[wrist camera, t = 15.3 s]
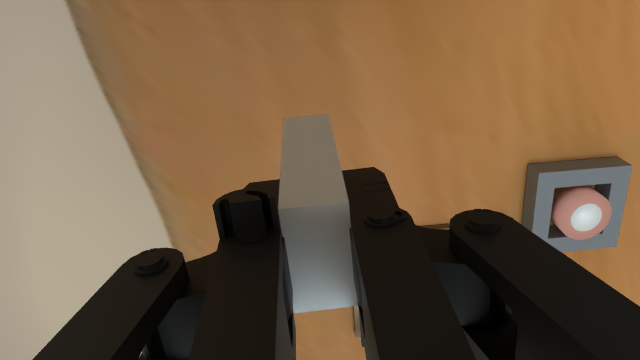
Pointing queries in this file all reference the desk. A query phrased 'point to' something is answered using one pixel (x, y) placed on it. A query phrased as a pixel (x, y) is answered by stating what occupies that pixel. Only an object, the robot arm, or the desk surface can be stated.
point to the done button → (580, 211)
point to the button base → (546, 176)
